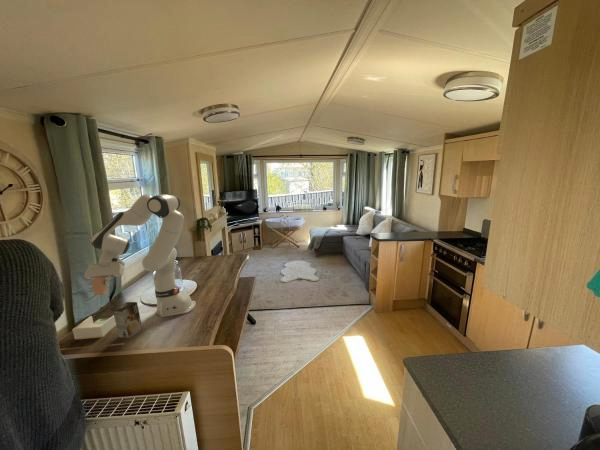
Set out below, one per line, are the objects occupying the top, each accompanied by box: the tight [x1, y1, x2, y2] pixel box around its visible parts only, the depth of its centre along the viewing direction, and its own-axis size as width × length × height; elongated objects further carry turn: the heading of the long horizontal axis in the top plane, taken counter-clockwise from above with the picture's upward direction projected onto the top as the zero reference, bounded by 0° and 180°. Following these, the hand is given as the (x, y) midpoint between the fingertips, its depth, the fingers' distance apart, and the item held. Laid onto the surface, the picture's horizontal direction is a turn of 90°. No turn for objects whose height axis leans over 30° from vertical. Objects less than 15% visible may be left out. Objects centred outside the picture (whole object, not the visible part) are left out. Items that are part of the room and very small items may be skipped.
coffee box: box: [112, 301, 143, 340], centre depth 138 cm, size 9×6×16 cm
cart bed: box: [71, 314, 117, 340], centre depth 142 cm, size 14×13×6 cm
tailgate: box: [93, 317, 110, 324], centre depth 152 cm, size 14×1×5 cm
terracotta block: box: [90, 277, 109, 296], centre depth 149 cm, size 4×4×9 cm
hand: (100, 284), depth 149 cm, fingers closed on terracotta block, 4 cm apart
